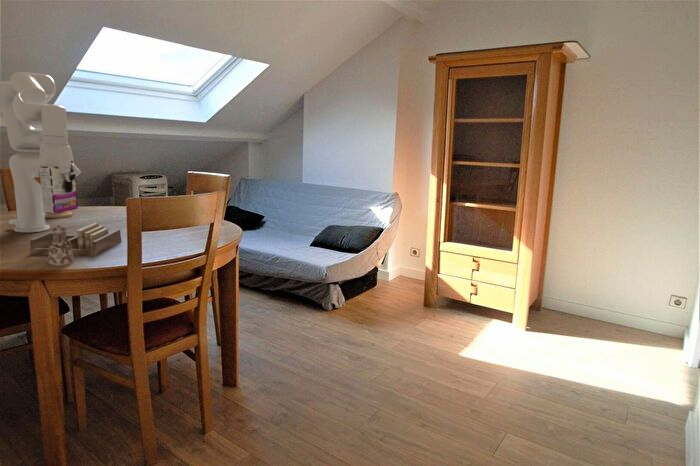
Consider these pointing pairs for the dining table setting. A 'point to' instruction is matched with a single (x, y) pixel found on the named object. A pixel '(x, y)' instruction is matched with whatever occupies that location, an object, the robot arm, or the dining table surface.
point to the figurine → (60, 248)
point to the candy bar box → (56, 191)
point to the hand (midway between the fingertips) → (59, 191)
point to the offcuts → (90, 235)
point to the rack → (75, 244)
